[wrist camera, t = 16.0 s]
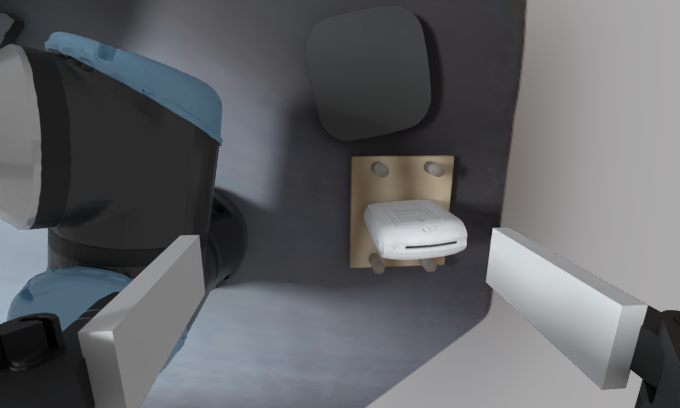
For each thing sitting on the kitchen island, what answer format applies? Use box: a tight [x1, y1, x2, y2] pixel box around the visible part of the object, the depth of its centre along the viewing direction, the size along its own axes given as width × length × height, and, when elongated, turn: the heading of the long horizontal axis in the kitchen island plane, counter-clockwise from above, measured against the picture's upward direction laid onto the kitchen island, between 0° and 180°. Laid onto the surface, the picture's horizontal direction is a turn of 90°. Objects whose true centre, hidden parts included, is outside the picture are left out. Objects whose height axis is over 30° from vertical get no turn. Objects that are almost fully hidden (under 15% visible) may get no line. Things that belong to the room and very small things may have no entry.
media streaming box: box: [306, 5, 431, 141], centre depth 42 cm, size 15×15×3 cm
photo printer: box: [364, 199, 467, 260], centre depth 41 cm, size 10×4×12 cm, turn 94°
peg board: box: [349, 155, 454, 274], centre depth 46 cm, size 14×16×5 cm
